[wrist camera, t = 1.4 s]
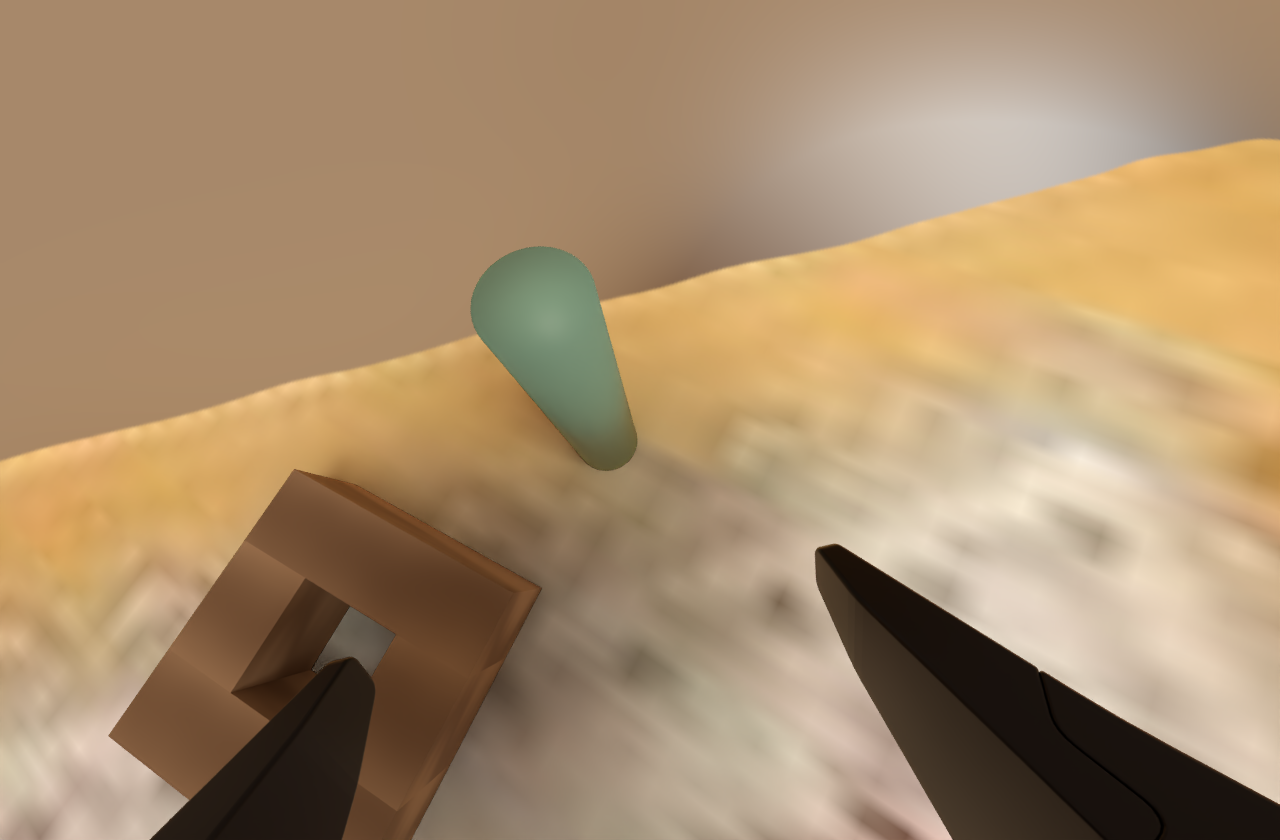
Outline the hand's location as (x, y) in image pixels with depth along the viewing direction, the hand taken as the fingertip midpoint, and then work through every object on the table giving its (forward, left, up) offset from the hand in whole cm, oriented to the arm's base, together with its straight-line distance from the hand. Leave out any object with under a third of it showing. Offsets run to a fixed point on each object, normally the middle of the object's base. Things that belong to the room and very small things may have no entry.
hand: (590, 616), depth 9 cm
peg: (+5, +4, -13) cm, 15 cm away
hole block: (-8, +9, -13) cm, 18 cm away
